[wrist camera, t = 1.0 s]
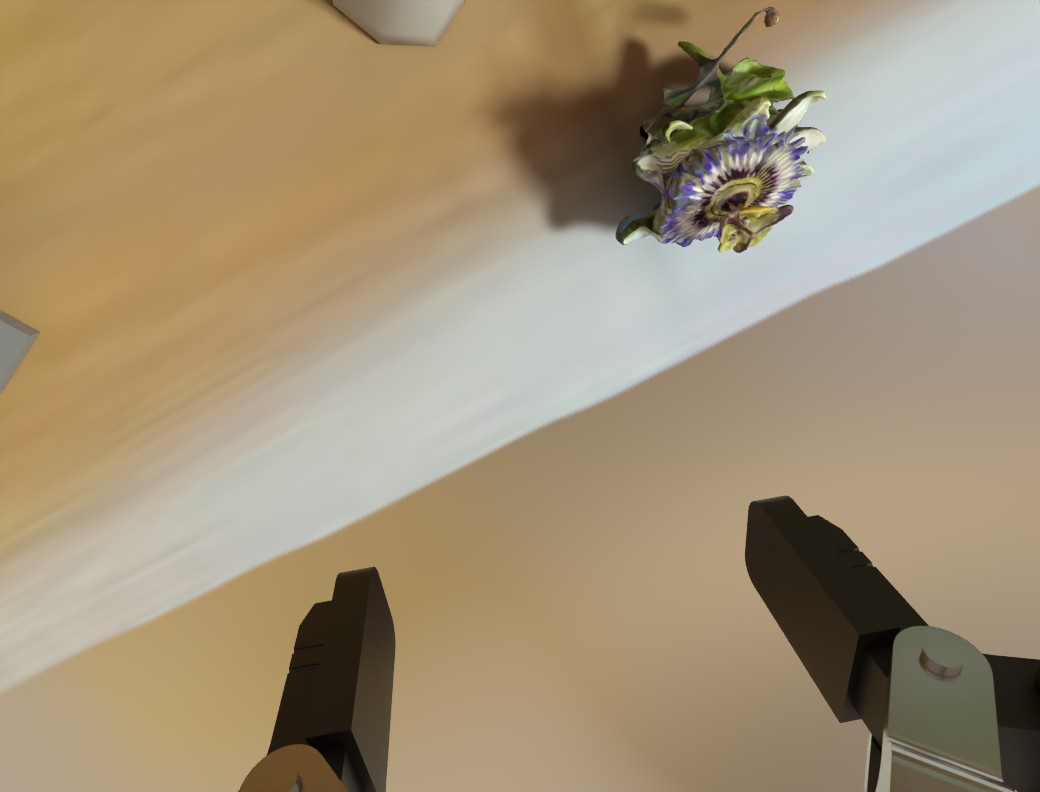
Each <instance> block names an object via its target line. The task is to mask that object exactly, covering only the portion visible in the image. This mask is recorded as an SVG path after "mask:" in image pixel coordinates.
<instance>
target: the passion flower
mask: <svg viewBox="0 0 1040 792" xmlns="http://www.w3.org/2000/svg"><path fill="white" fill-rule="evenodd" d="M763 12H766V16H765V20H764V22H765V26H766V27H771V26H772V25H774V24H775V23H776V22H777V21H778V16H779V13H778V12H777V11H776V10H775V8H773V7H768V8H766V9H763V10H761V11H759V12H756V13H755V14H754V15H753V17H752V18H751V19H750V20H749V21H748V22H747V23H746V24H745V25H744V26H743V28H742V29H741V30H740V31H739V33H738V34H737V35H736V36H735V37H734V38H733V39H732V41H731V42H730V43H729V45H728V46H727V47H726V48H725V49H724V51H723V53H722V54H721V55H720V56H719V57H718V58H717V59H714V60H711V59H709V58H708V56H707V54H706V53H705V52H704V51H703V50H701V49H700V48H698V47H696V46H695V45H694V44H692V43H689V42H679V43H678V46H680V47H681V48H682V49H683V50H684V51H685V52H686V53H688V54H689V55H690V56H691V57H692V58H693V59H694V60H695V61H696V62H697V63H698V65H699V69H700V75H699V78H698V80H697V81H696V82H695V83H694V85H692V86H689V87H687V88H679V89H669V88H668V87H667V84H665V85H663V93H664V101H663V102H662V104H661V105H660V111H658V112H657V114H656V115H655V116H653V117H652V118H651V119H648V120H646V121H644V124H643V125H642V126H641V127H640V136H641V139H642V141H643V143H644V147H643V148H642V150H641V153H640V155H639V156H637V157H636V158H634V159H633V160H632V165H633V169H634V172H635V173H636V174H637V176H639V177H641V178H642V179H643V180H644V181H648V182H650V183H651V184H653V185H654V186H656V188H657V189H658V190H659V191H660V193H661V196H662V202H661V203H659V204H658V205H656V206H655V208H654V209H653V211H652V212H651V213H648V214H645V215H637V214H632V215H630V216H628V217H625V218H624V219H623V220H622V221H621V222H620V223H619V225H618V227H617V231H616V239H617V240H618V241H619V242H620V243H621V244H622V245H627V244H628V243H630V242H632V241H634V240H636V239H639V238H643V237H645V236H648V235H652V236H654V237H655V238H656V239H657V240H658V241H659V242H661V243H664V244H665V243H677V244H679V245H681V246H682V247H686V246H688V245H690V244H691V242H692V241H693V240H694V239H699V240H700V241H702V240H704V239H705V238H710V237H712V236H716V237H718V240H719V241H720V245H719V247H718V250H719V251H720V252H724V251H728V250H729V249H731V248H732V247H733V250H734V251H735V252H737V253H741V252H743V251H744V250H747V248H748V247H753V246H755V245H757V244H758V243H760V241H761V240H762V239H763V238H764V237H765V236H766V235H767V234H768V232H769V231H770V230H771V229H772V226H773V225H774V224H776V223H778V222H779V221H781V220H783V219H784V218H785V217H786V216H788V215H790V214H791V213H792V211H793V206H791V205H785V206H782V207H779V208H777V206H778V205H781V204H786V203H787V201H788V200H789V199H791V198H792V195H793V193H794V192H795V191H796V188H797V187H801V184H800V181H799V180H804V179H806V178H808V177H810V176H812V175H813V173H814V170H813V167H811V166H809V165H807V164H806V163H805V162H803V161H804V159H801V158H800V156H801V155H803V154H805V153H809V151H811V150H813V149H815V148H817V147H818V146H820V145H821V144H823V143H824V142H825V141H826V138H825V135H824V133H822V132H821V131H819V130H818V129H817V128H813V127H797V126H798V125H797V124H798V123H799V121H800V120H801V118H802V116H803V115H804V114H805V113H806V112H807V108H808V106H809V105H811V104H813V103H815V102H817V101H819V100H820V99H824V100H825V98H826V95H825V93H824V91H807V92H805V93H803V94H801V95H799V96H797V97H796V98H794V96H793V94H792V91H791V89H790V88H789V87H788V85H787V83H786V82H785V80H784V75H785V71H784V70H782V69H777V68H774V67H769V66H764V65H760V64H759V63H758V61H752V60H750V59H749V58H745V59H743V60H741V61H740V62H739V63H737V64H736V65H735V66H734V67H733V68H732V69H731V70H729V71H728V72H727V74H725V75H723V74H722V73H721V71H720V69H719V63H720V61H721V60H722V59H723V58H724V57H725V56H726V55H727V53H728V52H729V51H730V50H731V49H732V48H733V47H734V46H735V44H736V42H737V41H738V39H739V38H740V37H741V36H742V35H743V34H744V33H745V31H746V30H747V29H748V28H749V27H750V26H751V25H752V24H753V22H754V21H755V20H756V19H757V17H758V16H759V15H760V14H761V13H763ZM703 84H708V85H709V87H710V89H711V92H710V95H709V100H708V102H706V103H705V104H704V105H702V106H696V107H685V105H684V104H685V102H686V101H687V100H688V99H689V98H690V97H691V96H692V94H693V93H694V92H695V91H696V90H697V89H698V88H699V87H701V86H702V85H703ZM788 99H793V100H792V101H791V102H790V103H789V104H788V105H787V106H786V107H785V108H784V109H783V110H782V109H779V110H776V108H774V107H773V102H779V101H784V100H788ZM704 111H710V113H709V114H707V115H705V116H700V117H696V115H697V114H698V113H701V112H704ZM664 116H666V117H668V118H673V119H675V118H680V119H683V120H685V121H686V122H687V123H688V124H687V123H685V122H683V121H680V120H677V121H672V122H669V123H667V124H665V125H664V126H663V127H662V128H661V129H659V130H651V129H650V127H651V126H652V125H654V124H655V123H656V122H658V121H659V120H660V119H661V118H662V117H664ZM695 117H696V118H695ZM728 124H729V125H728ZM727 125H728V126H727ZM675 129H677V131H676V133H675V134H674V135H673V136H672V137H670V134H671V132H672V131H673V130H675ZM669 137H670V138H669ZM656 139H659V140H660V141H658V140H656Z"/></svg>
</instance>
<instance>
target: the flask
mask: <svg viewBox="0 0 1040 792" xmlns="http://www.w3.org/2000/svg"><path fill="white" fill-rule="evenodd" d="M332 2H333V5H334V6H335V7H336V8H338V9H339V10H340V11H341V12H342V13H344V14H345V15H346V16H347V17H349V18H350V19H351V20H352V21H353V22H355V23H356V24H357V25H358V26H360V27H361V28H362V29H363V30H364V31H366V32H367V33H368V34H369V35H371V36H372V37H373V38H374V39H375V40H377V41H378V42H379V43H380V44H392V45H419V46H436V45H437V43H438V41H439V40H440V38H441V37H442V35H443V34H444V32H445V30H446V29H447V27H448V26H449V24H450V22H451V21H452V19H453V18H454V16H455V15H456V13H457V11H458V10H459V8H460V7H461V5H462V4H463V2H464V0H332Z"/></svg>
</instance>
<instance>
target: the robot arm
mask: <svg viewBox="0 0 1040 792" xmlns="http://www.w3.org/2000/svg"><path fill="white" fill-rule="evenodd" d="M745 561H746V567H747V571H748V574H749V577H750V579H751V581H752V583H753V585H754V587H755V588H756V590H757V591H758V593H759V595H760V596H761V598H762V599H763V601H764V603H765V604H766V606H767V607H768V609H769V610H770V612H771V614H772V615H773V617H774V619H775V620H776V622H777V623H778V625H779V627H780V628H781V630H782V631H783V632H784V634H785V636H786V638H787V639H788V641H789V642H790V644H791V646H792V647H793V649H794V650H795V652H796V654H797V655H798V656H799V658H800V660H801V661H802V663H803V665H804V666H805V668H806V670H807V671H808V673H809V674H810V676H811V677H812V679H813V681H814V682H815V684H816V685H817V687H818V689H819V690H820V692H821V693H822V695H823V697H824V698H825V700H826V701H827V703H828V705H829V706H830V708H831V709H832V711H833V713H834V714H835V716H836V717H837V719H838V720H839V722H840V723H842V722H848V721H853V720H858V719H862V720H863V721H864V723H865V725H866V726H867V728H868V729H869V730H870V736H869V741H868V750H867V761H866V772H865V784H864V792H1015V790H1017V791H1018V792H1040V660H1037V659H1027V658H1017V657H1006V656H996V655H988V654H983V653H981V652H980V651H979V650H978V649H977V648H976V647H975V646H974V645H972V644H971V643H969V642H968V641H967V640H965V639H963V638H961V637H960V636H958V635H956V634H954V633H952V632H949V631H946V630H944V629H940V628H936V627H931V626H929V625H928V624H927V623H926V622H925V621H924V620H923V619H922V618H921V617H920V616H919V615H918V614H917V612H916V611H915V610H914V609H913V608H912V607H911V606H910V605H909V603H907V601H906V600H905V599H904V598H903V597H902V596H901V595H900V594H899V592H898V591H897V590H896V589H895V588H894V587H893V586H892V585H891V584H890V582H889V581H888V580H887V579H886V578H885V577H884V576H883V575H882V574H881V572H880V571H879V570H878V569H877V568H876V567H873V566H872V562H871V561H870V560H869V559H868V558H867V557H866V556H865V555H864V554H863V552H860V551H859V549H858V547H857V546H856V545H855V543H854V542H853V541H852V540H851V539H850V538H849V537H848V536H847V535H846V533H844V531H843V530H842V529H840V528H839V527H837V526H835V525H834V524H832V523H830V522H829V521H827V520H825V519H824V518H822V517H820V516H819V515H816V516H811V517H807V516H806V515H805V514H804V512H803V511H802V510H801V509H800V507H799V506H798V505H797V504H796V503H795V502H794V500H793V499H792V498H790V497H789V496H781V497H775V498H770V499H764V500H759V501H753V502H751V503H750V505H749V510H748V523H747V535H746V548H745ZM394 659H395V632H394V624H393V620H392V616H391V612H390V609H389V606H388V603H387V599H386V596H385V593H384V590H383V586H382V583H381V580H380V577H379V573H378V571H377V569H376V568H375V567H370V568H365V569H359V570H353V571H348V572H342V573H339V574H338V575H337V578H336V583H335V588H334V593H333V599H332V601H326V602H322V603H316V604H314V606H313V607H312V609H311V610H310V612H309V613H308V614H307V616H306V617H305V619H304V620H303V621H302V623H301V625H300V626H299V630H298V634H297V638H296V642H295V646H294V654H292V658H291V663H290V667H289V673H288V675H287V679H286V683H285V687H284V692H283V695H282V699H281V703H280V707H279V711H278V716H277V720H276V723H275V727H274V732H273V736H272V740H271V744H270V747H269V750H268V753H267V756H266V757H264V758H263V759H262V760H261V761H260V762H259V763H257V765H256V766H255V767H254V768H253V769H252V770H251V771H250V773H249V774H248V775H247V777H246V778H245V780H244V782H243V784H242V785H241V787H240V790H239V791H238V792H385V791H386V776H387V761H388V747H389V733H390V732H389V731H390V718H391V704H392V689H393V674H394Z"/></svg>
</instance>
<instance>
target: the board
mask: <svg viewBox="0 0 1040 792" xmlns="http://www.w3.org/2000/svg"><path fill="white" fill-rule="evenodd" d="M39 333H40V332H38V331H37V330H35V329H33V328H31V327H29V326H28V325H26V324H24V323H22V322H20V321H18V320H17V319H15V318H13V317H11V316H9V315H8V314H6V313H4V312H2V311H0V394H1V393H2V391H3V390H4V388H5V387H6V385H7V383H8V382H9V380H10V379H11V377H12V375H13V374H14V372H15V371H16V369H17V367H18V366H19V364H20V363H21V361H22V360H23V358H24V356H25V355H26V353H27V352H28V350H29V348H30V347H31V345H32V344H33V342H34V341H35V339H36V337H37V336H38V334H39Z"/></svg>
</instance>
